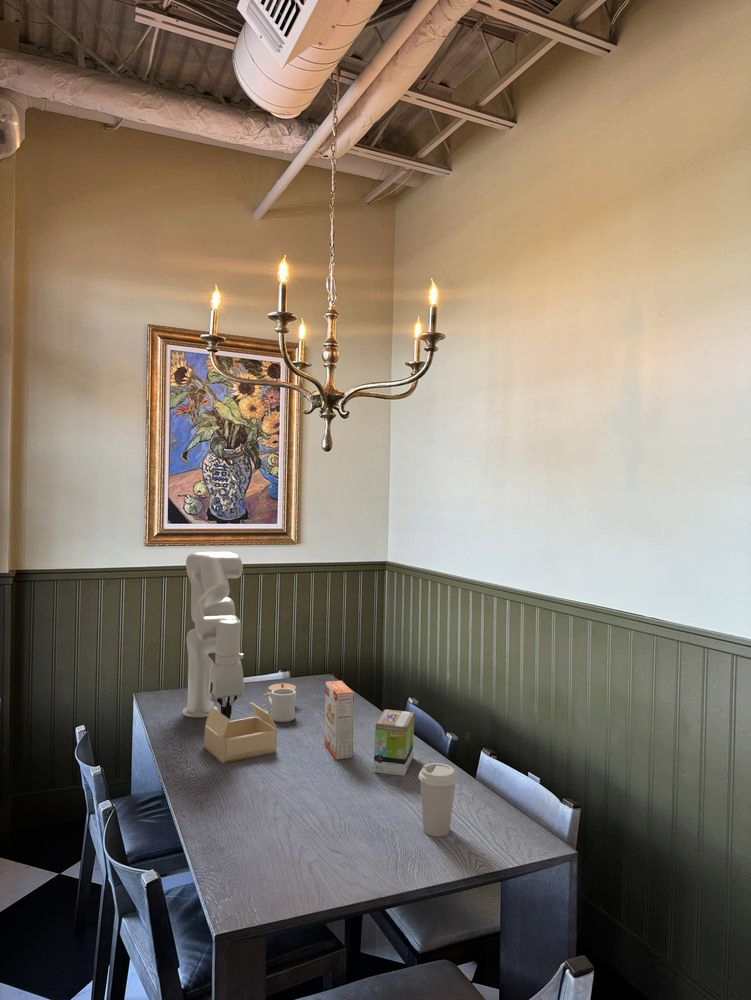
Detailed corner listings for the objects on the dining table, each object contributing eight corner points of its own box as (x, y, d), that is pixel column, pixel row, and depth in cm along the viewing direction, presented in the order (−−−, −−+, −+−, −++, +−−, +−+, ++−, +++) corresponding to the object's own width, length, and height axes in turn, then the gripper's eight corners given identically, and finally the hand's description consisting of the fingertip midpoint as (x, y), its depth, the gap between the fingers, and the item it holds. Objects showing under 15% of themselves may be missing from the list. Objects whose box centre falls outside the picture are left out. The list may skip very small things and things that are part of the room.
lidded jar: (262, 709, 254) (263, 685, 254) (275, 701, 264) (275, 678, 264) (288, 713, 251) (289, 688, 251) (300, 704, 261) (300, 680, 261)
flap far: (275, 727, 213) (276, 726, 213) (268, 714, 211) (269, 713, 211) (256, 715, 224) (257, 714, 225) (249, 702, 223) (250, 701, 223)
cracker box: (323, 744, 220) (324, 680, 220) (340, 742, 222) (342, 679, 222) (334, 760, 207) (336, 693, 207) (353, 758, 209) (355, 691, 209)
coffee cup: (431, 817, 172) (433, 758, 172) (463, 829, 166) (465, 769, 166) (409, 830, 165) (411, 769, 164) (441, 844, 158) (443, 780, 158)
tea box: (406, 776, 197) (407, 726, 197) (372, 773, 199) (374, 723, 199) (413, 757, 211) (414, 710, 211) (382, 754, 213) (383, 707, 213)
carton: (203, 746, 215) (204, 725, 215) (255, 736, 225) (256, 716, 225) (223, 763, 202) (223, 740, 202) (277, 752, 212) (277, 730, 212)
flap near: (206, 724, 214) (205, 723, 214) (212, 707, 215) (211, 706, 215) (223, 737, 203) (222, 737, 203) (229, 719, 204) (228, 719, 204)
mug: (297, 715, 248) (298, 688, 248) (292, 723, 239) (293, 695, 239) (265, 713, 250) (265, 686, 250) (258, 721, 241) (259, 693, 241)
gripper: (244, 654, 218) (242, 710, 218) (200, 659, 209) (198, 718, 209) (254, 659, 212) (252, 717, 212) (209, 665, 203) (207, 725, 203)
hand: (225, 717), depth 211 cm, fingers closed
